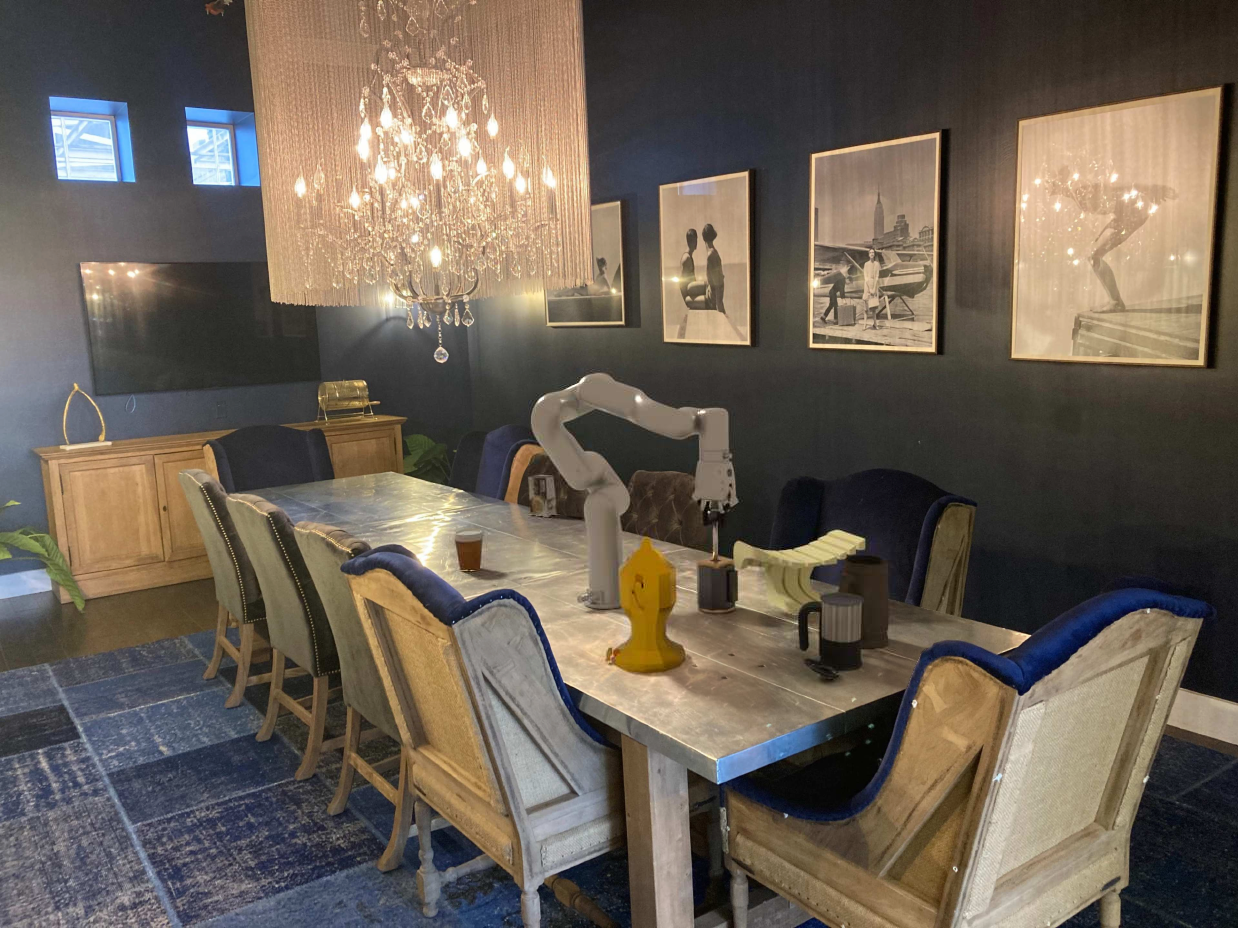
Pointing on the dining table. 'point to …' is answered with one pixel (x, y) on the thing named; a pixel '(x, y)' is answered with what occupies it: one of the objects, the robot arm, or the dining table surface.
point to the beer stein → (869, 596)
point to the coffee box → (542, 495)
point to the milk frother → (833, 633)
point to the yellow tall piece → (647, 612)
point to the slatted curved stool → (796, 566)
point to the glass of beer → (469, 548)
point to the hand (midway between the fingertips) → (715, 525)
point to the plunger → (714, 532)
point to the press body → (716, 586)
